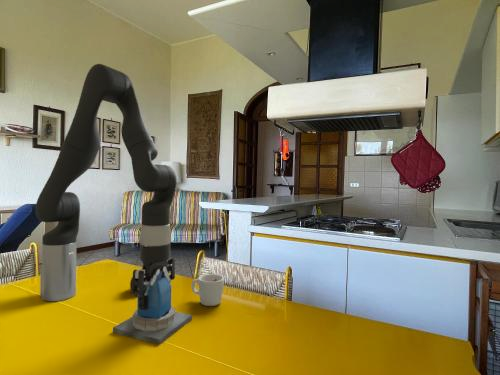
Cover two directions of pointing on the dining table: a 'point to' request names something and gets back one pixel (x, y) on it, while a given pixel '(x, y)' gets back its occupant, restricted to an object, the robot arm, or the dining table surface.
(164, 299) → the perfume bottle
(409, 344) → the dining table surface
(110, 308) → the dining table surface
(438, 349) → the dining table surface
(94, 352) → the dining table surface
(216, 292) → the cup
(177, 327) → the ring block
